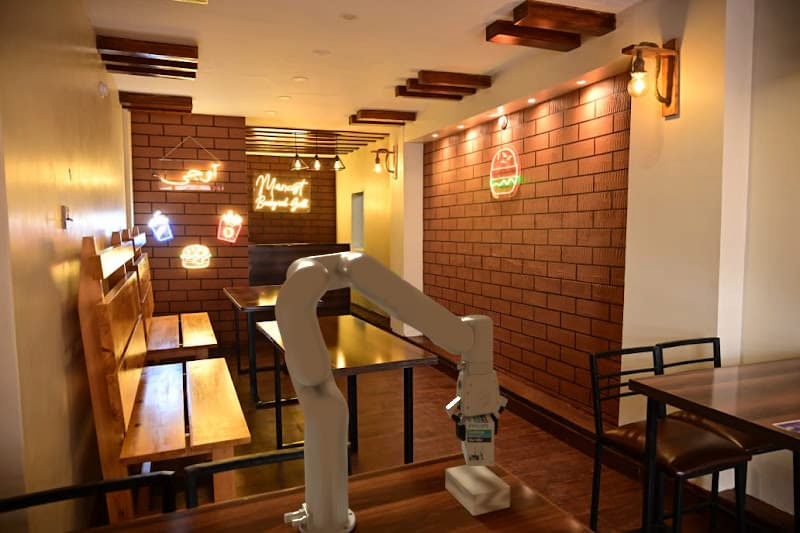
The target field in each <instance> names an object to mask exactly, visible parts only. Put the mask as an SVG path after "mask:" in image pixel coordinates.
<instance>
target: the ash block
mask: <svg viewBox="0 0 800 533" xmlns="http://www.w3.org/2000/svg"><path fill="white" fill-rule="evenodd" d="M444 475H445V489H446V490H447V491H448V492H449V493H450V494H451V495H452V497H453V498H455V499H456V500H457V501H458V503H460V504H461V505H462V506H463V507H464V508H465V509H466V510H467V511H468V512H469V514H471V515H472V516H473V517H475V516H478V515H482V514H487V513H491V512H495V511H499V510H502V509H507V508H511V507H510V506H511V486H510V485H509V484H508V483H507V482H505V481H504V480H503V479H502V478H500V477H499V476H497V475H496V474H495V472H493V471H492V470H490V469H489V468H488V467H487V466H467V464H463V465H458V466H453V467H449V468H445V474H444Z"/></svg>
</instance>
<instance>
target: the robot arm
mask: <svg viewBox="0 0 800 533" xmlns="http://www.w3.org/2000/svg"><path fill="white" fill-rule="evenodd" d="M343 288H351V289H352V290H353V291H355V292H356V293H357V294H359V296H362V297H363V298H365V299H366V300H368V301H369V302H370V303H372V304H374V305H375V306H377V307H378V308H379V309H380V310H382V311H383V312H385V313H386V314H388V315H389V316H391V317H392V318H394V319H396V320H397V321H398V322H401V323H402V324H405V325H406V326H409V327H410V328H412V329H414V330H416V331H418V332H419V333H421V335H422V334H423V336H425V337H426V338H428V339H429V340H430V341H431V342H432V343H433V344H434V345H435V346H437V347H439V348H441V349H443V350H445V351H446V352H448V353H450V354H452V355H456V356H458V355H459V356H461V360H460V363H458V364H457V365H456V368H457V370H458V371H459V370H460V371H459V374H458V377H457V383H456V384H457V385H456V391H455V399H453V400H452V401H451V402H450V403H449V404H447V405H446V406H445V408H444V409H445V412H446V413H447V414H448V417H449V418H450V419H451V420H452V421H454V422H455V435H456V438H458V439H459V440H460V441H461V442H462V441H465V440H466V436H465V425H464V424H463V423H464V422H465V420H466V418H467V417H473V416H479V415H484V414H489V415H490V416H491V418H492V420H493V421H494V436H496V435H498V429H499V419H500V418H501V414H502V413H503V412H504V411H505V407H506V405H507V403H508V398H506V397H505V396H503V395H501V394H500V386H499V379H498V374H497V371H496V370H494V323H493V319H492V318H491V317H490V316H487V315H485V314H483V315H482V314H469V315H466V316H456V315H455V314H454V313H452V312H451V311H450V310H448V309H447V308H446V307H444V306H442V305H441V304H439V303H438V302H436V301H435V300H433V299H432V298H431V297H429V296H428V295H427V294H425V293H424V292H423V291H421V290H420V289H418V288H417V287H416V286H415V285H413V284H412V283H410V282H409V281H407V280H406V279H404V278H403V277H402V276H400V275H399V274H397V273H396V272H395V271H393V270H392V269H390V268H389V267H387V266H386V265H385V264H384V263H382V262H381V261H379V260H378V259H376V258H375V257H374V256H372V255H371V254H368V253H366V252H362V251H359V250H358V251H357V250H351V251H344V252H337V253H332V254H331V253H329V254H323V255H315V256H308V257H301V258H299V259H296V260H294V261H293V262H292V263H291V264H290V265H289V267H288V269H287V272H286V280H285V281H284V282H283V284H282V285H281V287H280V289H279V292H278V294H277V295H276V296H277V297H276V300H275V304H274V305H275V306H274V315H275V320H276V324H277V328H278V329H277V330H278V332H279V335H280V339H281V342H282V345H283V348H284V361H285V363H286V367H287V368H286V369H287V371H288V374H289V376H290V379H291V382H292V383H291V384H292V385H293V388H294V391H295V393H296V394H295V395H296V397H297V400H298V403H299V406H300V409H301V412H302V415H303V422H304V431H303V432H304V436H303V440H304V441H303V453H304V454H303V455H304V456H303V457H304V458H303V459H304V486H305V488H304V492H305V493H304V494H305V499H304V500H305V502H304V503H302V506H301V508H300V509H299V508H298V510H296V511H292V512H287V513H284V515H283V518H284V523H285V524H287V523H291V526H292V527H297V526H298V528H299V531H300V533H350V532H351V531H352V530H353V529H354V527H355V525H356V515H355V513H354V511H353V510H351V509H350V508H349V472H348V471H349V470H348V468H349V466H348V463H349V462H348V461H349V460H348V430H349V421H350V420H349V419H350V414H349V413H350V411H349V406H348V403H347V400H346V398H345V397H344V394H343V393H342V392H341V390H340V389H339V387H338V386H337V383H336V381H335V377H334V375H333V371H332V359H331V355H330V352H329V350H328V348H327V346H326V342H325V339H324V337H323V333H322V331H321V330H322V329H321V327H320V324H319V320H318V316H317V308H318V303H319V302H320V300H321V298H322V297H323V296H325V294H326V293H327V291H332V290H338V289H343ZM455 410H456V411H457V412H455ZM455 413H456V414H455Z"/></svg>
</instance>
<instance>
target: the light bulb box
mask: <svg viewBox="0 0 800 533" xmlns="http://www.w3.org/2000/svg"><path fill="white" fill-rule="evenodd" d="M463 424H464V425H465V436H466V440H465V441H461V451H462V453H463V456H464V460H465V463H466V464H465V465H467V466H485V467H495V435H494V421H493V420H492V418H491V416H490V414H484V415H479V416H473V417H467V418H466V420H465V422H464V423H463Z"/></svg>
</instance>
